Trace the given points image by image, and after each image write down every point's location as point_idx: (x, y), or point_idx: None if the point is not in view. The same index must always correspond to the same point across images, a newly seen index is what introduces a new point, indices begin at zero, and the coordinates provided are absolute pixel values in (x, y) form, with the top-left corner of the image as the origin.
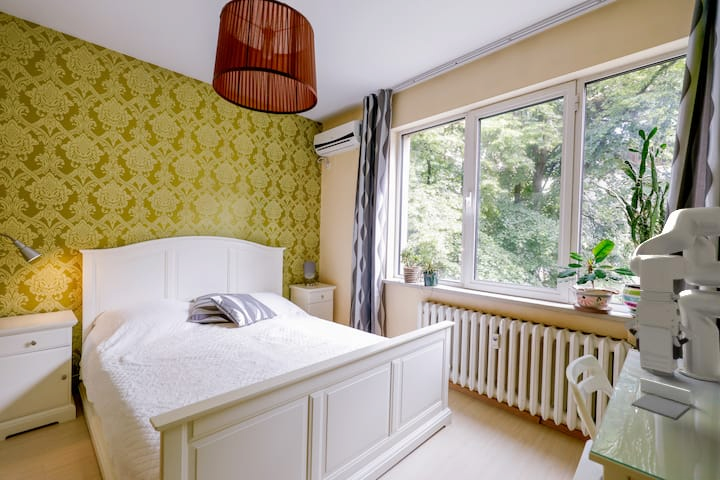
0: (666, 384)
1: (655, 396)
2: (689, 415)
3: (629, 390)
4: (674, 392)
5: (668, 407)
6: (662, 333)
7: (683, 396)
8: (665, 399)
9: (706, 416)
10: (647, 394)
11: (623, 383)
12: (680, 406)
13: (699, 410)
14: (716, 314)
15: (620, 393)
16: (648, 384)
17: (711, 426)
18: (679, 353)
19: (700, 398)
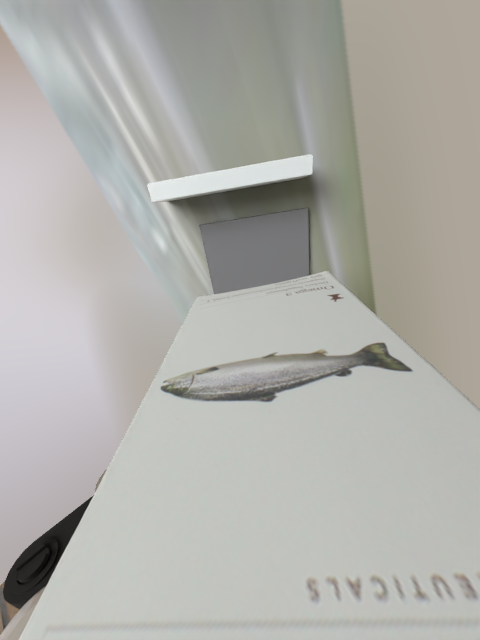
0: (233, 173)
1: (223, 224)
2: (321, 268)
3: (157, 239)
4: (263, 183)
5: (278, 277)
6: None
7: (288, 179)
8: (249, 221)
9: (351, 230)
10: (203, 231)
11: (104, 189)
12: (293, 236)
13: (329, 199)
14: None
15: (166, 289)
16: (183, 197)
17: (369, 287)
18: None
19: (302, 39)
